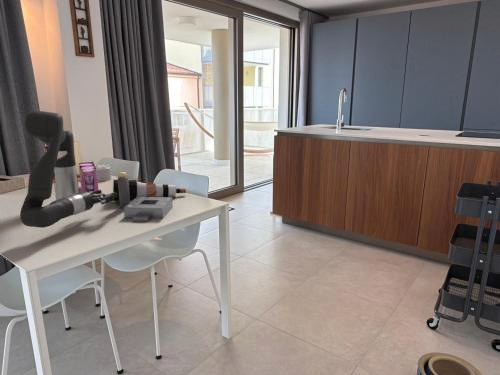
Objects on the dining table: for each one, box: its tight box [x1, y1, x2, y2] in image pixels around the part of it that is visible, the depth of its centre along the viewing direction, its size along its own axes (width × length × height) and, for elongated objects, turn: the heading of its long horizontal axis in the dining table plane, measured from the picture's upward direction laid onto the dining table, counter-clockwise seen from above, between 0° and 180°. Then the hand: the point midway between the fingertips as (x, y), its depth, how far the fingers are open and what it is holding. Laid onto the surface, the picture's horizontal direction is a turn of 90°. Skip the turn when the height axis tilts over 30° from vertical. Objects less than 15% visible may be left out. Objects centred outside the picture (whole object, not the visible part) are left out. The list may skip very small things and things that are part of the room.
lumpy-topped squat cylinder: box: [95, 163, 112, 182], centre depth 212 cm, size 10×13×9 cm
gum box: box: [77, 161, 100, 192], centre depth 184 cm, size 24×8×14 cm, turn 27°
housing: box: [123, 197, 174, 223], centre depth 151 cm, size 16×24×4 cm, turn 178°
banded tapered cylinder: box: [112, 179, 187, 202], centre depth 171 cm, size 10×34×10 cm, turn 112°
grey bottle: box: [117, 171, 131, 210], centre depth 156 cm, size 4×4×16 cm
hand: (108, 193), depth 148 cm, fingers open, 8 cm apart
